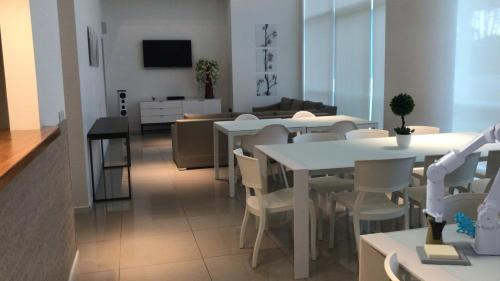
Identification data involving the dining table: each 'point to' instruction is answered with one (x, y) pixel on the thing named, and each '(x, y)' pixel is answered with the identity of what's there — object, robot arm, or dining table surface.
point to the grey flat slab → (441, 255)
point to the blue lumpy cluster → (465, 224)
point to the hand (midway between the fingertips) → (434, 235)
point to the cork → (430, 237)
